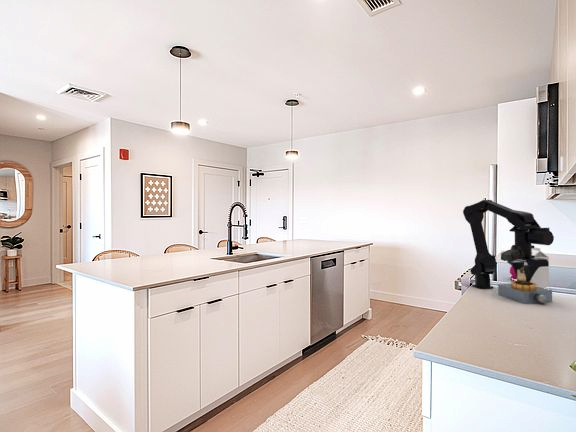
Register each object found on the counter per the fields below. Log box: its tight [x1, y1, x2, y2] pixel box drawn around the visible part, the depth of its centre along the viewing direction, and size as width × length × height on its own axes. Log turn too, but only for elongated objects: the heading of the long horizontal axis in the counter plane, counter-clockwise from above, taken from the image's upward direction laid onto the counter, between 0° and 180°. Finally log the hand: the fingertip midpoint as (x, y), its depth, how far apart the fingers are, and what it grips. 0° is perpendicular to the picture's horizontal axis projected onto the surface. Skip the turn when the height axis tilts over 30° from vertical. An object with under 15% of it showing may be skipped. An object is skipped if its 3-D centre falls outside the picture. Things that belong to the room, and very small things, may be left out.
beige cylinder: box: [517, 267, 530, 285], centre depth 136 cm, size 4×4×7 cm
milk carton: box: [524, 246, 550, 288], centre depth 150 cm, size 7×7×19 cm
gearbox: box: [497, 280, 553, 305], centre depth 135 cm, size 17×12×6 cm
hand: (523, 280), depth 136 cm, fingers closed on beige cylinder, 4 cm apart
